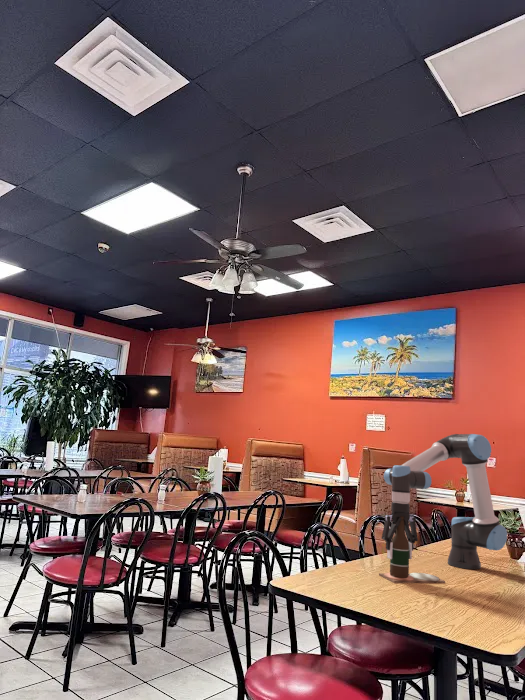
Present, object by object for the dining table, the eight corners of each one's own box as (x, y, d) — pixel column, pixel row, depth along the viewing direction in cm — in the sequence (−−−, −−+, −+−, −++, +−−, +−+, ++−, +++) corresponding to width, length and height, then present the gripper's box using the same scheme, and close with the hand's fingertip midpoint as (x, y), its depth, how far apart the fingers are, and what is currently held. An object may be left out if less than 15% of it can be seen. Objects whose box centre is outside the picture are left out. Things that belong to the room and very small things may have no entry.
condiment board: (428, 575, 220) (428, 572, 221) (445, 583, 209) (445, 580, 209) (378, 575, 214) (378, 572, 214) (393, 582, 203) (393, 579, 203)
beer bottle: (411, 579, 206) (412, 517, 211) (391, 577, 207) (393, 516, 211) (406, 574, 214) (407, 515, 219) (387, 572, 214) (389, 513, 219)
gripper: (417, 502, 222) (416, 556, 218) (373, 500, 217) (372, 556, 212) (427, 504, 215) (426, 560, 211) (382, 502, 210) (381, 560, 205)
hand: (399, 558), depth 212 cm, fingers open, 8 cm apart
